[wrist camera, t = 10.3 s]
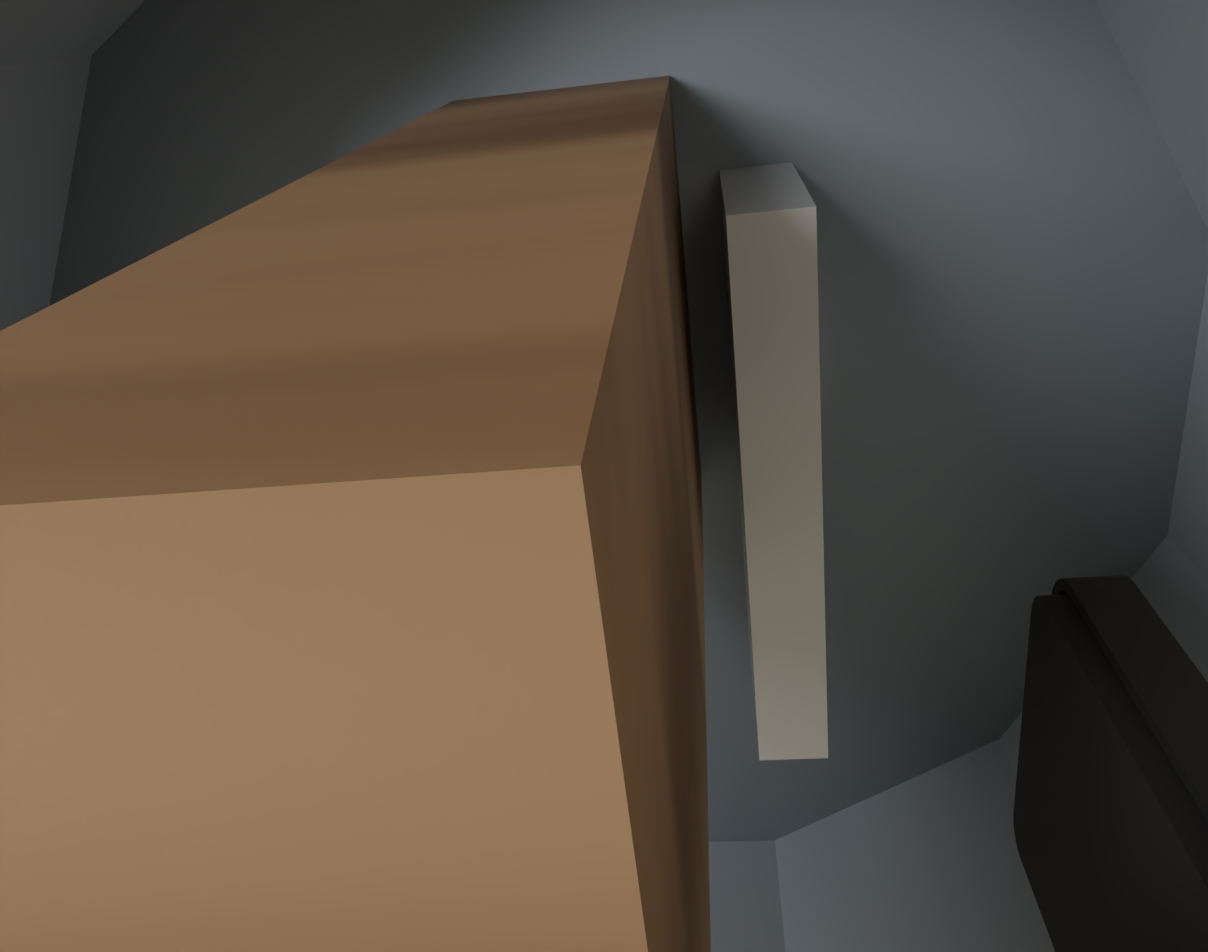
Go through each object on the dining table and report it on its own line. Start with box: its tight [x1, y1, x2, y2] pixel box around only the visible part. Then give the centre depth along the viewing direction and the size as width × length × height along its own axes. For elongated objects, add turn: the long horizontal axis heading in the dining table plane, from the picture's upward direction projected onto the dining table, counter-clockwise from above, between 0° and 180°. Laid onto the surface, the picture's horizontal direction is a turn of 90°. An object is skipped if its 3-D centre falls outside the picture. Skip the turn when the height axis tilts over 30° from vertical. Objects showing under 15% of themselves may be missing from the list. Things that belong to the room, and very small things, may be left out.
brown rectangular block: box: [0, 75, 711, 952], centre depth 9 cm, size 6×3×12 cm, turn 6°
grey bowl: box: [0, 0, 1208, 952], centre depth 14 cm, size 20×20×6 cm
